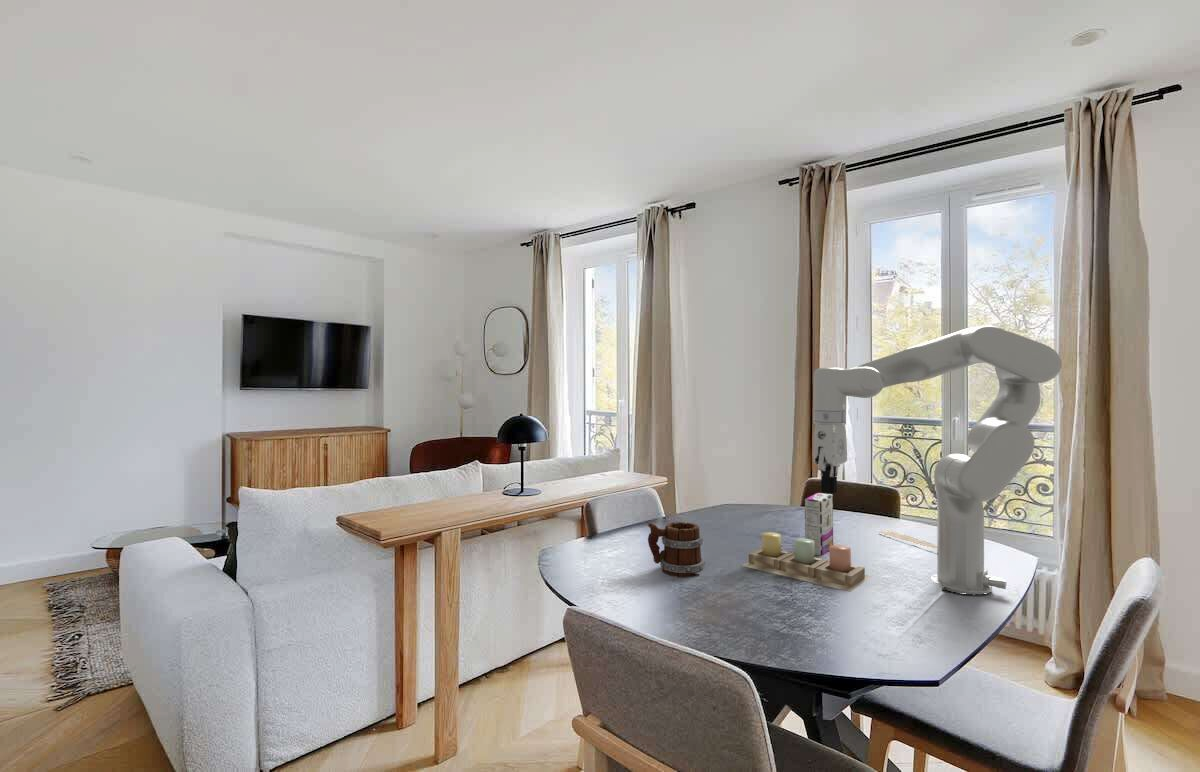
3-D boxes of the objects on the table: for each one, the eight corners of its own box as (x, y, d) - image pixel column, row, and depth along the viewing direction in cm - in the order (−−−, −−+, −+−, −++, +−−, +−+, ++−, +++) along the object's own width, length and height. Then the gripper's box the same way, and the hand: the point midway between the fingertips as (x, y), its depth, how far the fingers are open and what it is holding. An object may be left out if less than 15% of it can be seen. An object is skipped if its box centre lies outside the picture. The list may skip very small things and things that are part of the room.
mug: (715, 575, 150) (705, 517, 149) (661, 588, 147) (650, 530, 147) (700, 561, 161) (690, 508, 161) (650, 573, 159) (640, 519, 158)
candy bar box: (816, 547, 175) (816, 492, 175) (833, 550, 172) (833, 494, 172) (803, 556, 166) (803, 498, 166) (822, 560, 163) (822, 500, 163)
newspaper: (878, 536, 190) (878, 530, 190) (896, 534, 192) (896, 529, 192) (939, 557, 167) (939, 551, 167) (959, 555, 169) (959, 548, 169)
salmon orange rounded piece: (853, 567, 144) (853, 547, 144) (846, 572, 141) (846, 551, 140) (834, 563, 147) (834, 543, 147) (826, 568, 144) (826, 547, 144)
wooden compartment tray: (871, 581, 146) (871, 565, 146) (850, 596, 135) (850, 579, 135) (766, 558, 165) (766, 544, 165) (741, 570, 155) (741, 555, 155)
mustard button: (784, 553, 156) (784, 534, 156) (775, 557, 153) (775, 538, 153) (767, 549, 160) (767, 531, 160) (758, 553, 156) (758, 534, 156)
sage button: (817, 560, 150) (817, 540, 150) (809, 564, 147) (809, 544, 147) (799, 556, 153) (799, 537, 153) (791, 560, 150) (791, 541, 150)
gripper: (833, 420, 137) (832, 499, 137) (856, 417, 148) (855, 490, 148) (801, 418, 142) (801, 494, 142) (826, 416, 153) (825, 486, 153)
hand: (828, 492), depth 145 cm, fingers closed
